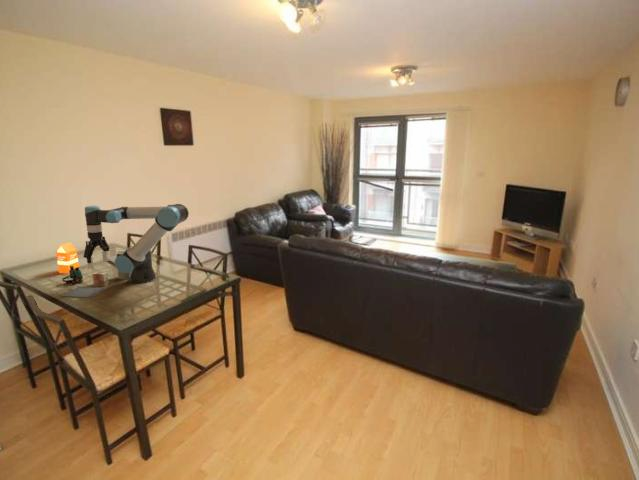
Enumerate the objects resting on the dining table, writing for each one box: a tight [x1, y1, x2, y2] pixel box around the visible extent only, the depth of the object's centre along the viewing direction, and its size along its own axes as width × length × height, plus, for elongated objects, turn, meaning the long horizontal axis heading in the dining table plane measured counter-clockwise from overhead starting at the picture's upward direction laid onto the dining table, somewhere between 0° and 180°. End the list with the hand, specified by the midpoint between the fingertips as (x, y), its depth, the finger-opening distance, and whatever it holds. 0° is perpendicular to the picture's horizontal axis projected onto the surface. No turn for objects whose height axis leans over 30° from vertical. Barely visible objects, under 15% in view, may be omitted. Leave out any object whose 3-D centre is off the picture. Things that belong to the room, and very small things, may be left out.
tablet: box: [108, 254, 117, 265], centre depth 257 cm, size 16×26×2 cm, turn 51°
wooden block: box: [92, 271, 110, 287], centre depth 209 cm, size 7×4×8 cm, turn 88°
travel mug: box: [115, 250, 132, 280], centre depth 221 cm, size 8×8×18 cm
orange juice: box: [55, 241, 80, 274], centre depth 229 cm, size 8×9×20 cm
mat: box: [60, 286, 105, 299], centre depth 197 cm, size 16×14×1 cm
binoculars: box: [62, 266, 84, 286], centre depth 209 cm, size 9×11×10 cm
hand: (98, 264), depth 207 cm, fingers open, 13 cm apart
